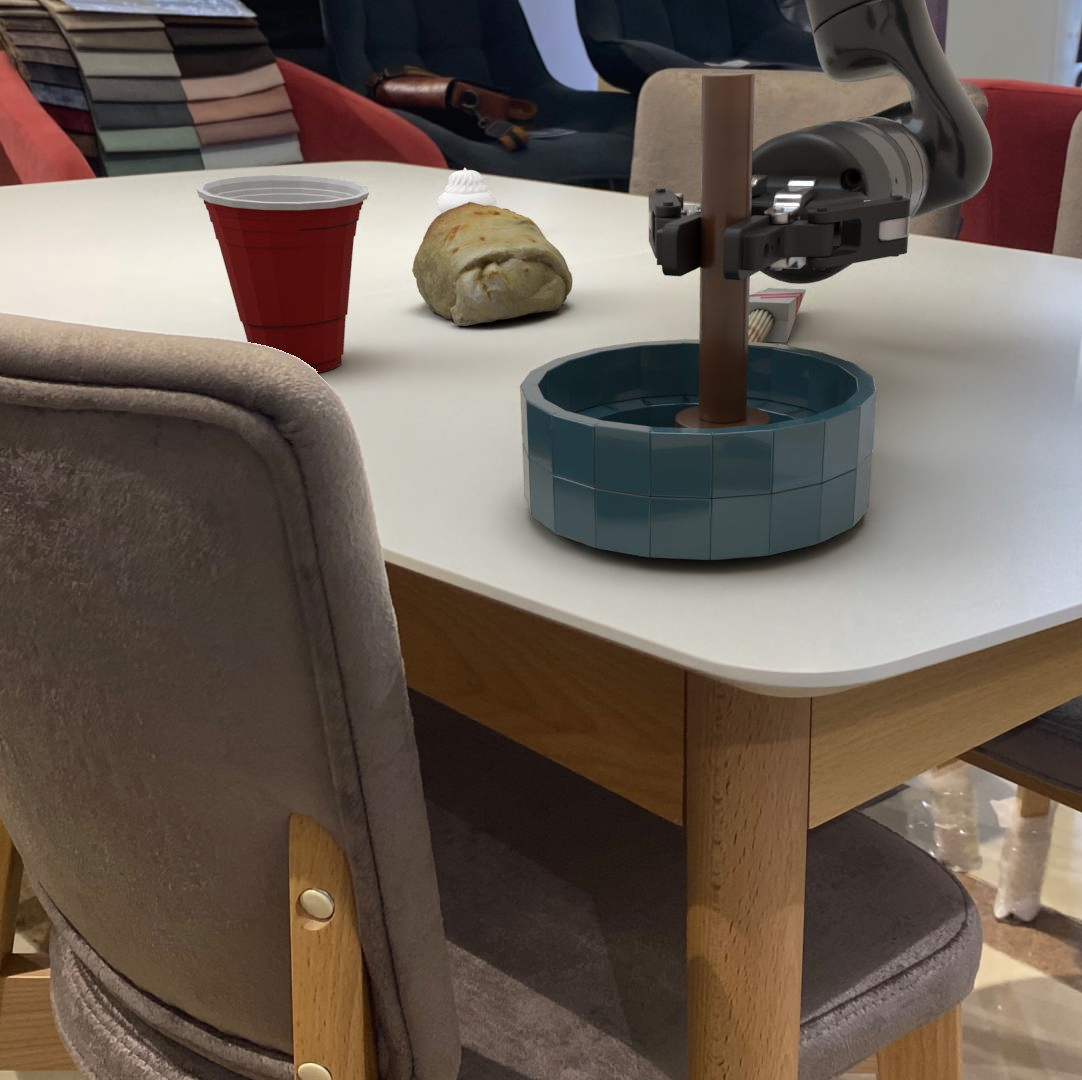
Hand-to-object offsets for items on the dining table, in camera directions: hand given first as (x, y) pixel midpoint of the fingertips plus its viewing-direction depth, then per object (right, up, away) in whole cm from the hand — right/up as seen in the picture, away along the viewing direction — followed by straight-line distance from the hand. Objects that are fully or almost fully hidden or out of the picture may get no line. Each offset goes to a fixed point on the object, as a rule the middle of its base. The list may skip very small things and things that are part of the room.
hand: (701, 253), depth 55 cm
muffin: (-14, +19, +80) cm, 83 cm away
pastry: (-11, +6, +47) cm, 49 cm away
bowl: (0, -11, +5) cm, 12 cm away
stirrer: (+2, -7, +6) cm, 9 cm away
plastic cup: (-23, -1, +32) cm, 40 cm away
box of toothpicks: (+8, +1, +34) cm, 35 cm away
